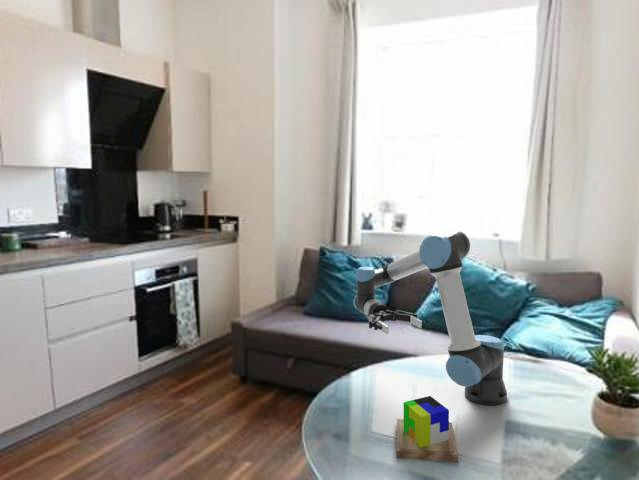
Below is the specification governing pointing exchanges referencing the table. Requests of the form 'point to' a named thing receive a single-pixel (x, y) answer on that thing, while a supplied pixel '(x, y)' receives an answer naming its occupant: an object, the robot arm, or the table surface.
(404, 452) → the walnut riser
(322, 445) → the table surface
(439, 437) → the puzzle toy
